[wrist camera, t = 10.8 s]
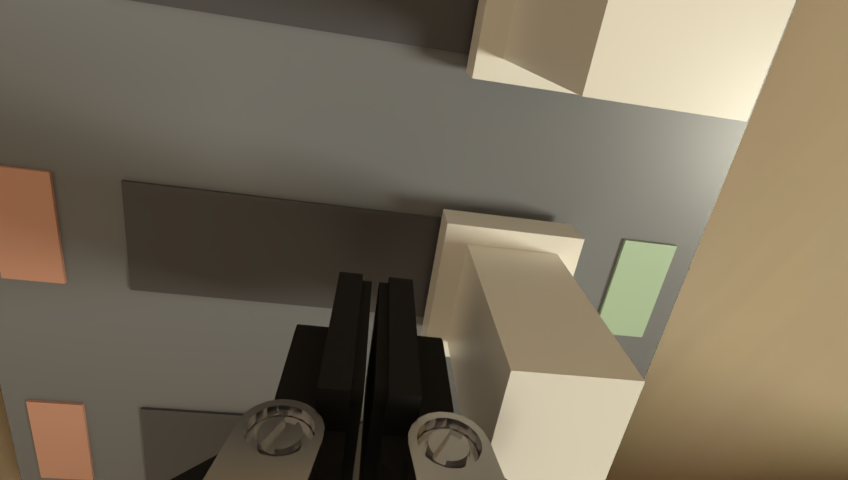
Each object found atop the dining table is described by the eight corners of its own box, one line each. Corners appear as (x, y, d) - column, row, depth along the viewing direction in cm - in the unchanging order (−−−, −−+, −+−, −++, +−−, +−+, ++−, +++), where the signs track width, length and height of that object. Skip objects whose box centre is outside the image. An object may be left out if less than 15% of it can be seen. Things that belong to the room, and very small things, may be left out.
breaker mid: (537, 344, 16) (617, 522, 10) (420, 333, 15) (441, 514, 10) (572, 224, 14) (687, 360, 9) (443, 209, 14) (482, 342, 8)
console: (568, 502, 22) (581, 538, 20) (53, 477, 19) (27, 516, 18) (801, -118, 13) (854, -133, 11) (-93, -316, 10) (-170, -366, 9)
